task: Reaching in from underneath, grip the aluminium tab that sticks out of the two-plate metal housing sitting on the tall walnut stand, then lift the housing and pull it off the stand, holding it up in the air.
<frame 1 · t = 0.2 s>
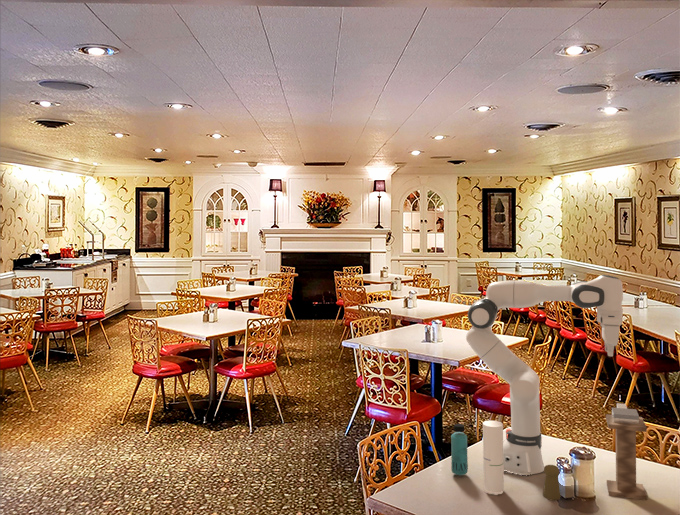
hand: (608, 353, 217), 48 cm above the table, tool pointing down, fingers open, 8 cm apart
olive shaker: (551, 496, 203), on the table
stand: (625, 491, 206), on the table
beverage bottle: (459, 475, 223), on the table
cylindrical container: (493, 491, 209), on the table
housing: (625, 419, 206), point 26 cm above the table, touching stand
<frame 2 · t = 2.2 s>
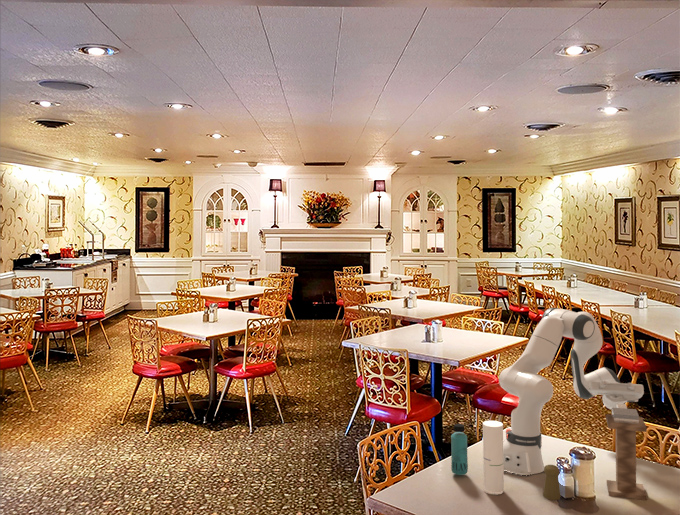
hand: (617, 383, 232), 32 cm above the table, tool pointing upward, fingers open, 8 cm apart
nothing on the table moved.
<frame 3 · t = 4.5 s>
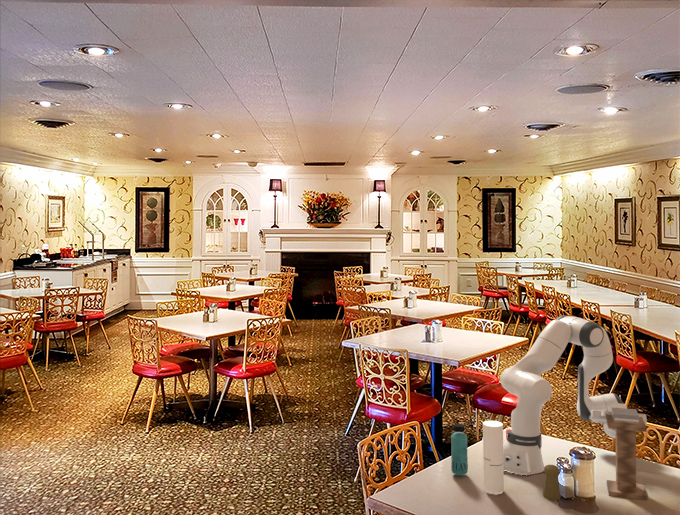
hand: (619, 413, 224), 23 cm above the table, tool pointing upward, fingers open, 8 cm apart
nothing on the table moved.
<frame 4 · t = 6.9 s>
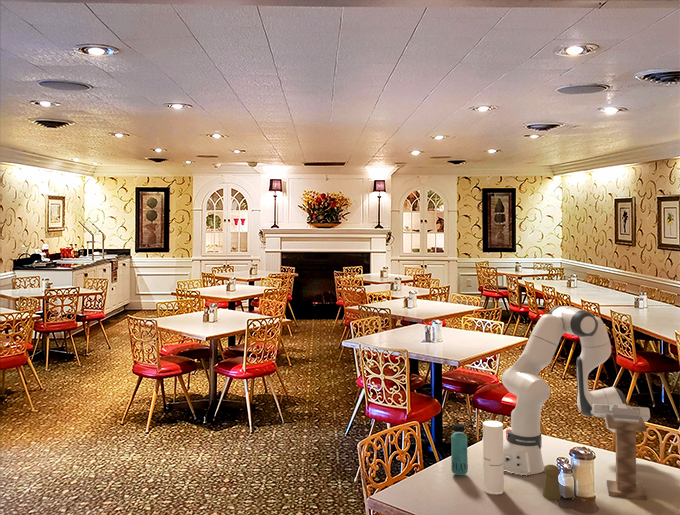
hand: (621, 407, 216), 27 cm above the table, tool pointing upward, fingers closed on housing, 3 cm apart
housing: (625, 419, 206), point 26 cm above the table, touching gripper, stand
everything else where it was.
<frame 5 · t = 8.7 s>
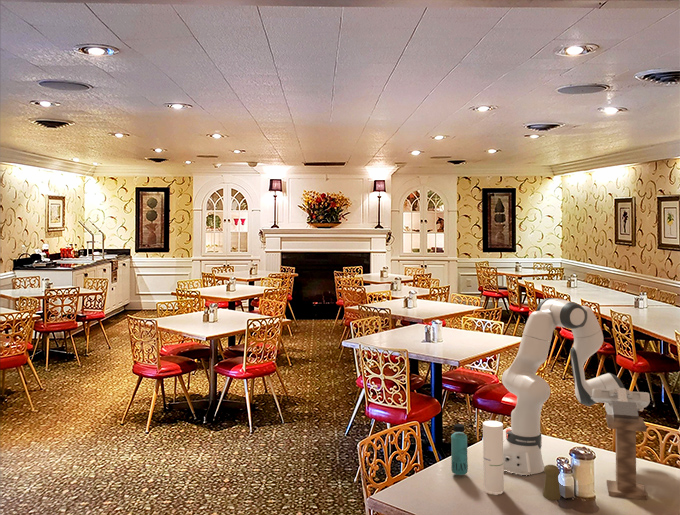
hand: (621, 391, 216), 33 cm above the table, tool pointing upward, fingers closed on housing, 3 cm apart
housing: (624, 415, 207), point 27 cm above the table, tilted 21°, touching gripper
everything else where it was.
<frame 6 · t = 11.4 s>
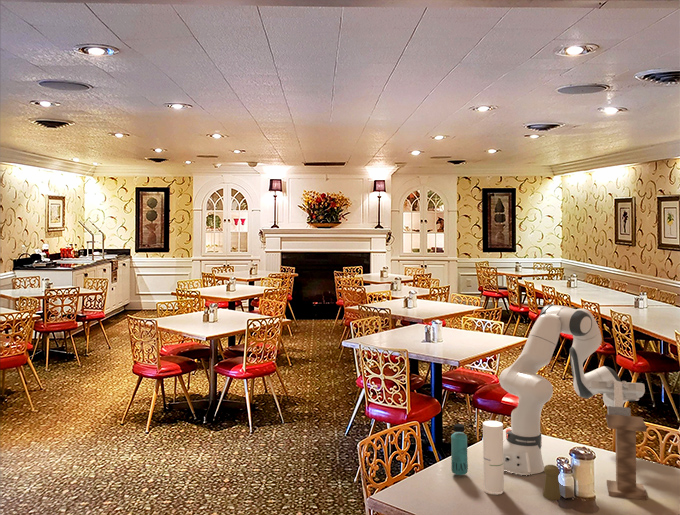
hand: (618, 382, 229), 33 cm above the table, tool pointing upward, fingers closed on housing, 3 cm apart
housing: (618, 417, 228), point 20 cm above the table, tilted 73°, touching gripper
everything else where it was.
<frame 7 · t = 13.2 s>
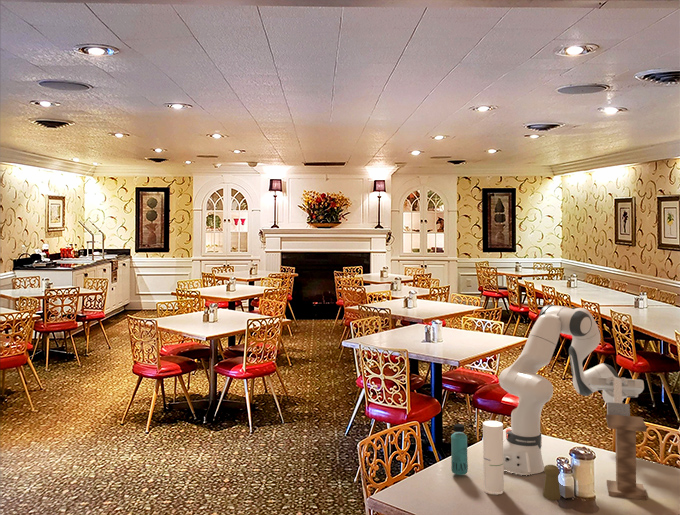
hand: (617, 378, 231), 34 cm above the table, tool pointing upward, fingers closed on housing, 3 cm apart
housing: (618, 413, 230), point 21 cm above the table, tilted 73°, touching gripper
everything else where it was.
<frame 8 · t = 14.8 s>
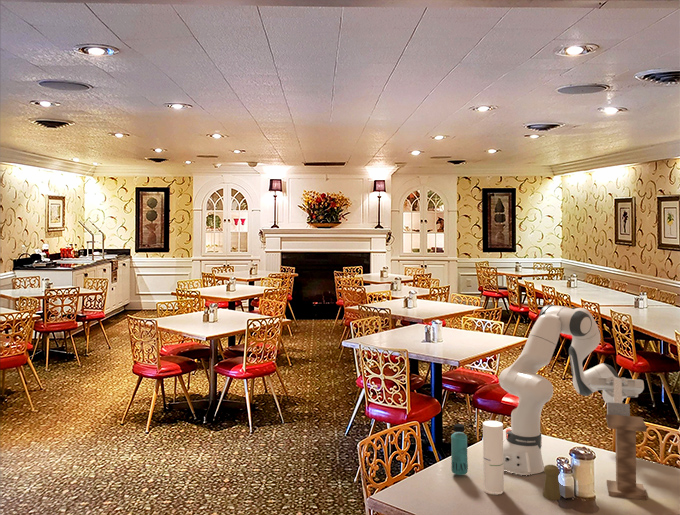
hand: (617, 378, 231), 34 cm above the table, tool pointing upward, fingers closed on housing, 3 cm apart
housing: (618, 413, 230), point 21 cm above the table, tilted 73°, touching gripper
everything else where it was.
at the end: the gripper is holding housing; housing touching gripper; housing moved 26.5 cm from its start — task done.
